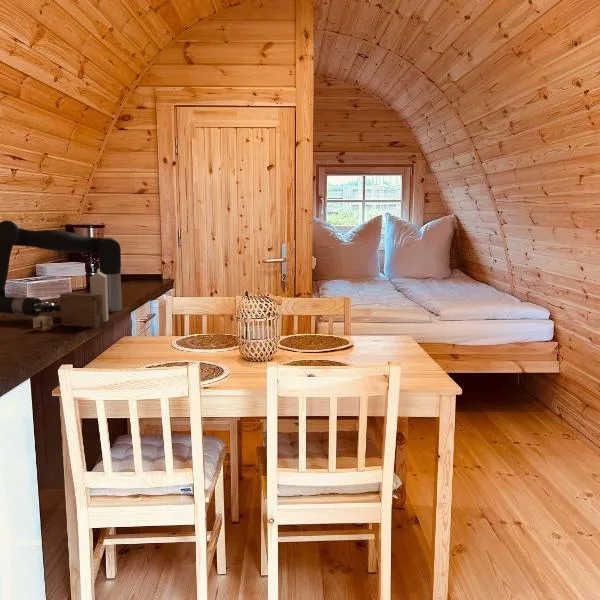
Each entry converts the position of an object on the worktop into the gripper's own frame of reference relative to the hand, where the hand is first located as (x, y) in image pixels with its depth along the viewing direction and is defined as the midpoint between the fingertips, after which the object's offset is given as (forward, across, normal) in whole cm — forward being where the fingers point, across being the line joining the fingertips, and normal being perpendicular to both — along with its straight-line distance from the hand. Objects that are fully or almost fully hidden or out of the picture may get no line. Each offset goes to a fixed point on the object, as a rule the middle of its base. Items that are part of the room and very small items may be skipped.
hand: (65, 308), depth 240 cm
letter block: (-2, -12, +7) cm, 14 cm away
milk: (+9, +11, +7) cm, 16 cm away
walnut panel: (+8, 0, +7) cm, 10 cm away
